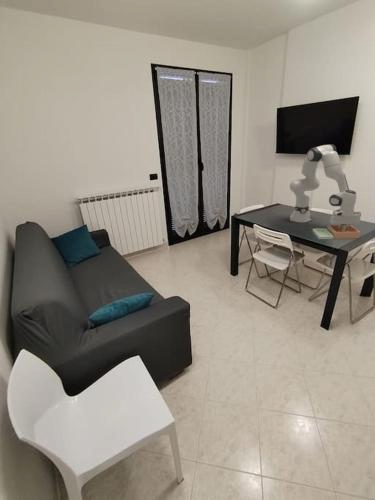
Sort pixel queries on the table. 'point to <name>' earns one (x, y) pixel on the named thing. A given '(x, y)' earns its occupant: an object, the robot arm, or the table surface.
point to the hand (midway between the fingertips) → (343, 229)
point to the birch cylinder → (343, 227)
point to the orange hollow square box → (349, 233)
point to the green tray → (323, 233)
